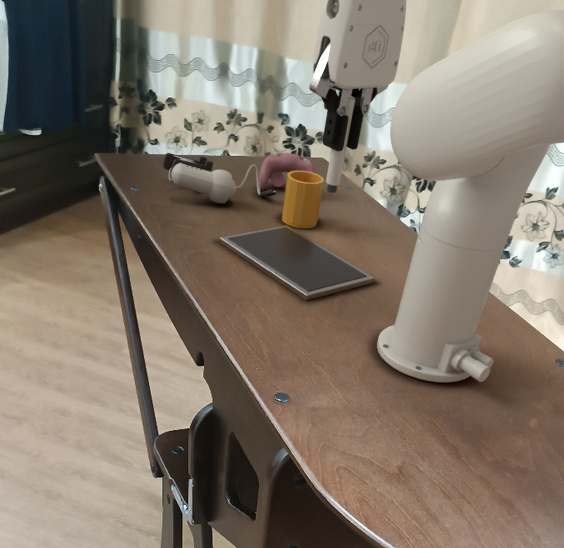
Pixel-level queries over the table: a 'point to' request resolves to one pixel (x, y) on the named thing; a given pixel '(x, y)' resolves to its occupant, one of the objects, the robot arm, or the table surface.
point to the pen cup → (302, 199)
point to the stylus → (339, 154)
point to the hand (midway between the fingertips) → (339, 145)
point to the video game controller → (282, 168)
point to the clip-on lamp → (206, 178)
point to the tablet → (296, 261)
